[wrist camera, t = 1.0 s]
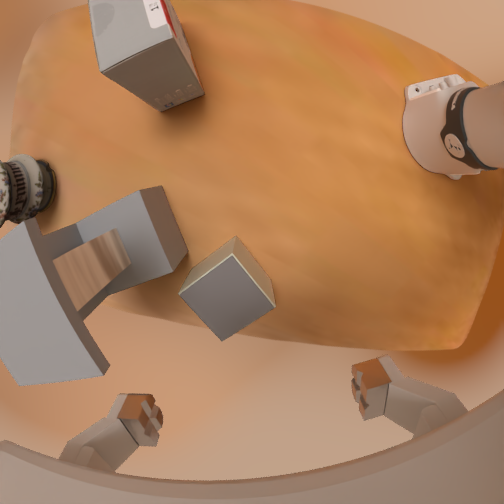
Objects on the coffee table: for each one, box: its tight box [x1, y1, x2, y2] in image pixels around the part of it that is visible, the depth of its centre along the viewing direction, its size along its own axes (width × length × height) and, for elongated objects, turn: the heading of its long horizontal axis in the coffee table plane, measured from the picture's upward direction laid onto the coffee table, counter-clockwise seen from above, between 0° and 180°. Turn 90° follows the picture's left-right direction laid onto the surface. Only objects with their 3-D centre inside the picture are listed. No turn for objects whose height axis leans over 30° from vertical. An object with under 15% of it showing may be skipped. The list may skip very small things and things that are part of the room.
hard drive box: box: [88, 0, 204, 112], centre depth 26 cm, size 16×8×20 cm, turn 18°
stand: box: [178, 236, 276, 341], centre depth 40 cm, size 9×9×10 cm
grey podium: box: [0, 186, 188, 386], centre depth 29 cm, size 12×11×30 cm
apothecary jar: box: [0, 154, 56, 228], centre depth 32 cm, size 12×12×18 cm
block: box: [52, 228, 131, 311], centre depth 27 cm, size 5×5×14 cm
